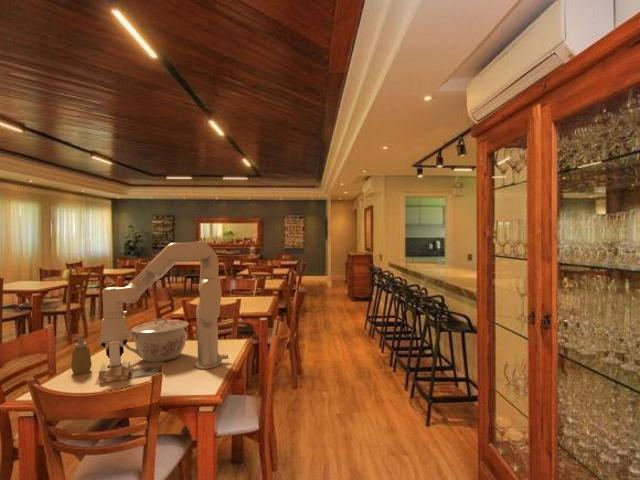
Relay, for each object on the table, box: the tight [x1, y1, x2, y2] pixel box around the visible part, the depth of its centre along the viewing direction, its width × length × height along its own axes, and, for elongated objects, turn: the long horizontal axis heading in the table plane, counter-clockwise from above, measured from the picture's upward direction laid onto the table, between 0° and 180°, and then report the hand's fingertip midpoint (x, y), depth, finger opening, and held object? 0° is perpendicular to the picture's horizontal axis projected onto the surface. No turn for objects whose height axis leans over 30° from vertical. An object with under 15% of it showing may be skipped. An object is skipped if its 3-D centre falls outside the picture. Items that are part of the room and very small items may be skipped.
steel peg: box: [109, 341, 122, 368], centre depth 168 cm, size 4×4×12 cm
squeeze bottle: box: [70, 335, 93, 376], centre depth 175 cm, size 8×8×18 cm
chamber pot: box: [123, 317, 190, 363], centre depth 196 cm, size 28×28×21 cm
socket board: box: [94, 359, 163, 386], centre depth 170 cm, size 26×13×6 cm, turn 113°
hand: (115, 355), depth 168 cm, fingers closed on steel peg, 4 cm apart
